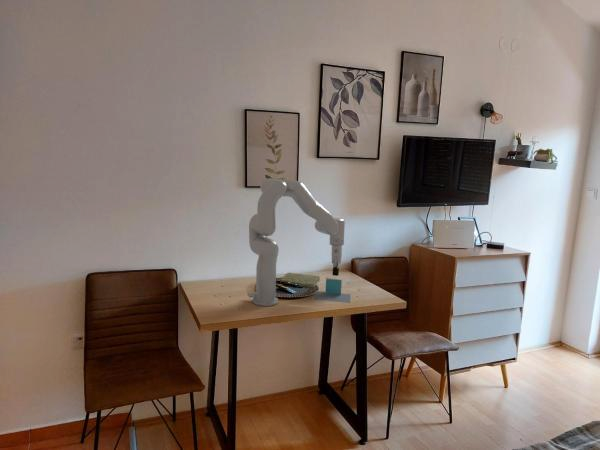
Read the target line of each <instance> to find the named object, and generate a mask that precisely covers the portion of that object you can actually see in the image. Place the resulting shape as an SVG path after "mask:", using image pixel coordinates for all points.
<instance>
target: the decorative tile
mask: <svg viewBox="0 0 600 450" xmlns="http://www.w3.org/2000/svg"><path fill="white" fill-rule="evenodd" d="M320 278H321V277H320V275H313V274H302V273H292V272H286V273H285V274H284V276H283V277H282V278H281V280H280V283H281V282H290V283H293V284H297V285H299V286H298V287H302V288H303V287H305V288H315V287H316V285H317V283H318V282H320V281H321V280H320Z"/></svg>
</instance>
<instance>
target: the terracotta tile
mask: <svg viewBox="0 0 600 450" xmlns="http://www.w3.org/2000/svg"><path fill="white" fill-rule="evenodd" d="M342 281H343V279H340V278H331V277H329V278H328V277H326V278H325V291H324V292H325V294H333V295H341V294H342Z"/></svg>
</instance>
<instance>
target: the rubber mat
mask: <svg viewBox="0 0 600 450" xmlns="http://www.w3.org/2000/svg"><path fill="white" fill-rule="evenodd" d="M325 292H326V291H316V292H315V294H314V298H313V300H315V301H325V302H326V301H328V302H338V303H351V295H352V294H351V293H341V295H333V294H325Z"/></svg>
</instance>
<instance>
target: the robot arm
mask: <svg viewBox="0 0 600 450" xmlns="http://www.w3.org/2000/svg"><path fill="white" fill-rule="evenodd" d="M260 192H261V195H260V197H259V198H258V202H257V206H256V207H257V208H256V209H257V210H256V212H257V213H255V214H253V216H251V218H250V220H249V223H248V236H249V237H248V239H249V247H250V250H251V251H252V252H253V253H254V254H255V255H257V256H258V258H257V261H256V262H257V263H256V272H255V273H256V277H255V280H256V281H255V291H254V292H252V291H248V292H247V296H248V298H252V303H253V304H255V305H257V306H259V307H260V306H261V307H269V306H270V307H271V306H275V305H277V304H278V303H279V298H278V297H276V293H277V292H276V291H277V289H276V287H277V261H278V256H279V246H278V243H277V242H276V241H275V240H274V239H272V238H269V237H270V236H272V235H273V234H274V233H275V231H276V223H277V222H276V208H277V207H276V206H277V203H278V201H279V200H280V199H281V198H282V197H288V198H292V200H293V201H294V203H296V205H297V206H298V207H299V208H300V209H301V211H302V212H303V213H304V214H305V215H307V216H308V217H310V218H312V219H313V220H315V222H314V229H315V230H316V231H317V232H318V233H322V234H325V235H327V236H329V245H330V246H331V264H332V274H331V275H332V276H336V277H337V276H339V271H340V270H339V269H340V266H339V265H341V264H342V259H343V258H342V256H343V246H344V243H345V227H346V226H345V224H346V222H345V220H344V219H343V218H341V217H334V216H333V215H332V214H331V213H330V212H329V211H328V210H327V209H326V208H325V207H324V206H323V205H322V204H320V202H318V201H317V200H316V199H315V197H314V196H313V195H312V193H311V192H310V191H309V189H308V188H307V187H306V186H305V184H304V183H302V182H301V181H299V180H294V179H293V180H292V179H280V178H269V177H268V178H265V179H264V180H262V181H261V184H260Z"/></svg>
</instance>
